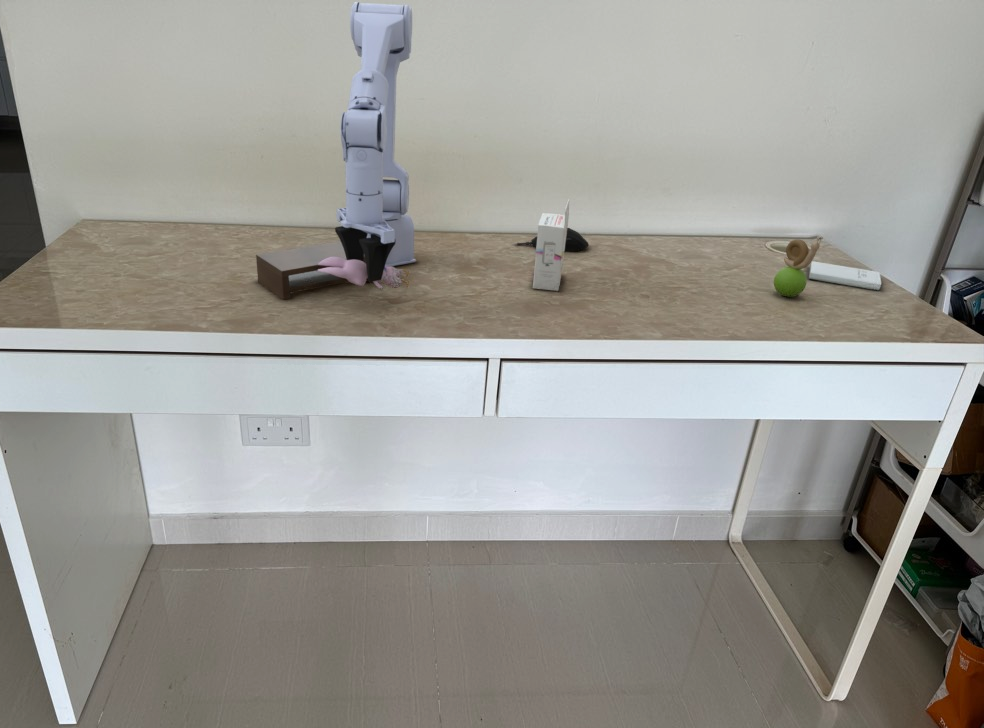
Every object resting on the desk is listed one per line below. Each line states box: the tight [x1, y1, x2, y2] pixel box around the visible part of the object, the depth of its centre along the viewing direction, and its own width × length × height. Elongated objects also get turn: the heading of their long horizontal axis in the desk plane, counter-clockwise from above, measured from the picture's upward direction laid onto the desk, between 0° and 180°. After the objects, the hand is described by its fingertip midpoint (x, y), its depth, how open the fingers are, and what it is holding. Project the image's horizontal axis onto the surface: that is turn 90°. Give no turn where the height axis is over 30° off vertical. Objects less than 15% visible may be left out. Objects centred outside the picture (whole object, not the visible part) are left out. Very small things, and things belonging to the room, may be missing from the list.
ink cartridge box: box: [532, 198, 570, 292], centre depth 138 cm, size 9×5×15 cm, turn 168°
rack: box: [255, 240, 371, 301], centre depth 135 cm, size 18×10×5 cm, turn 126°
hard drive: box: [808, 260, 882, 291], centre depth 150 cm, size 2×8×12 cm
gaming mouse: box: [517, 227, 590, 252], centre depth 160 cm, size 6×15×4 cm, turn 89°
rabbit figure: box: [318, 257, 411, 290], centre depth 125 cm, size 6×6×15 cm
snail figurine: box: [773, 236, 824, 298], centre depth 137 cm, size 5×6×12 cm
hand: (365, 274), depth 126 cm, fingers closed on rabbit figure, 5 cm apart
